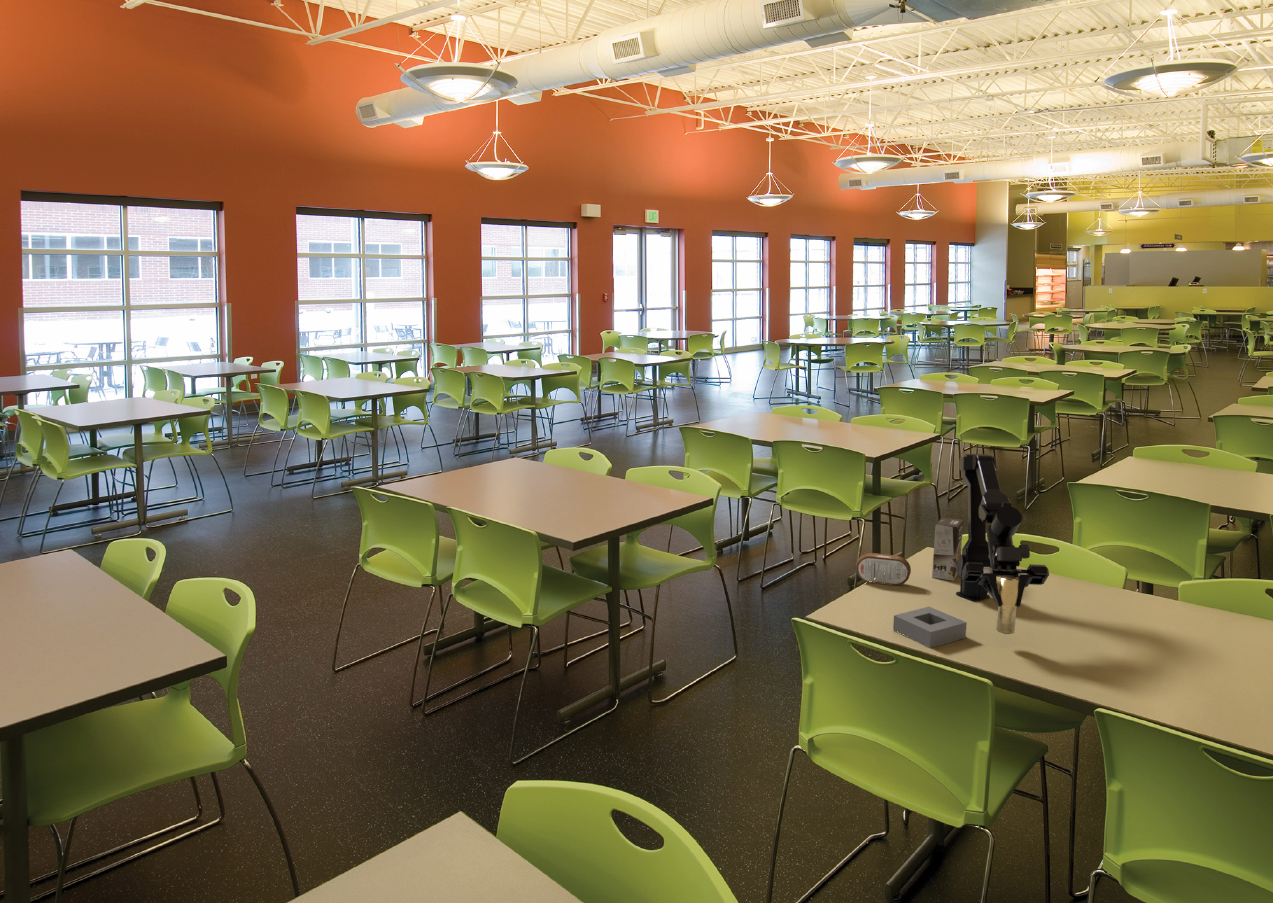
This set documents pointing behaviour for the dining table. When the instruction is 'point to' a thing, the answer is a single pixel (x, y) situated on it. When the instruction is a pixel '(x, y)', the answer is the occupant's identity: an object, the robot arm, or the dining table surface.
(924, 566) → the dining table surface
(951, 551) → the coffee box
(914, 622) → the dock block
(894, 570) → the tin
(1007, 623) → the peg
